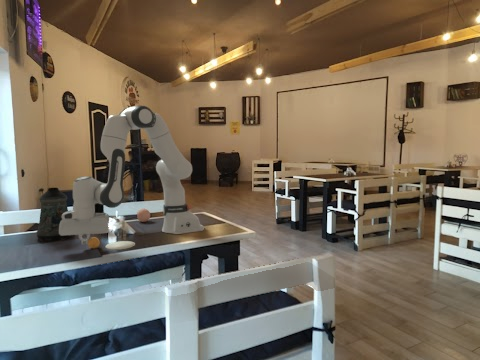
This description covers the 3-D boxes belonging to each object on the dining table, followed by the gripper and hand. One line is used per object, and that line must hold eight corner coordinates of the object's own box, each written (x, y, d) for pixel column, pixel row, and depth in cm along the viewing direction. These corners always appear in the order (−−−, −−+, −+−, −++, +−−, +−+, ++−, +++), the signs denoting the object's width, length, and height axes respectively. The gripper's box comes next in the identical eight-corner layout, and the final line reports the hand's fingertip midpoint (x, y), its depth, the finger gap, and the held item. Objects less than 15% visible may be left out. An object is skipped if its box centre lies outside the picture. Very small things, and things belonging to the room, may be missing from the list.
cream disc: (134, 240, 169) (134, 240, 169) (135, 247, 157) (135, 247, 157) (106, 243, 165) (106, 242, 165) (104, 250, 153) (104, 250, 153)
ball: (91, 248, 159) (101, 242, 161) (91, 252, 155) (101, 246, 156) (85, 239, 158) (96, 233, 159) (85, 242, 153) (96, 236, 155)
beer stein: (44, 243, 165) (41, 191, 163) (29, 237, 178) (26, 188, 175) (79, 236, 178) (76, 187, 175) (63, 230, 190) (60, 185, 188)
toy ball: (145, 219, 216) (144, 207, 215) (153, 221, 212) (153, 208, 211) (134, 222, 210) (133, 209, 209) (142, 223, 205) (142, 210, 204)
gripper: (109, 211, 161) (109, 240, 162) (60, 213, 155) (61, 243, 156) (108, 213, 155) (109, 244, 156) (57, 215, 149) (58, 247, 150)
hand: (84, 243), depth 156 cm, fingers closed
